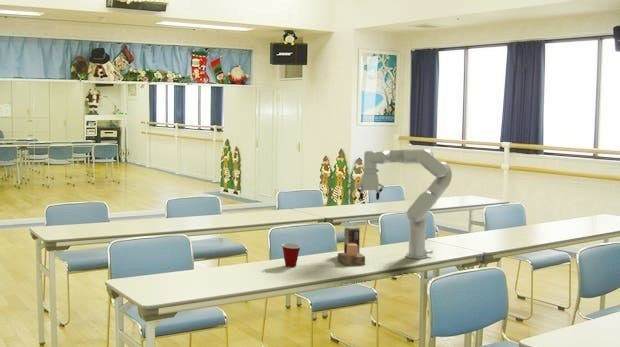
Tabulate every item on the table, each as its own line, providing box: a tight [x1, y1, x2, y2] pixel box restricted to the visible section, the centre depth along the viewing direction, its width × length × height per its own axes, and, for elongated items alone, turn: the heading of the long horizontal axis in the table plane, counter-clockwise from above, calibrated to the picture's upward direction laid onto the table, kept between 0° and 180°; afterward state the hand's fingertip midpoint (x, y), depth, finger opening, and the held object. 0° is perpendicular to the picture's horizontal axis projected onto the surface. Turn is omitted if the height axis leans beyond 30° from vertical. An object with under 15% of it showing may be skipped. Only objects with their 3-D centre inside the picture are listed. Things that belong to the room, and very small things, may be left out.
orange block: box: [347, 244, 357, 256], centre depth 383 cm, size 5×5×6 cm
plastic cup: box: [281, 242, 302, 268], centre depth 373 cm, size 11×11×12 cm
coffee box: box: [343, 227, 361, 253], centre depth 401 cm, size 9×6×16 cm
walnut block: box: [337, 252, 366, 267], centre depth 383 cm, size 12×12×5 cm
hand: (369, 199), depth 408 cm, fingers open, 9 cm apart
